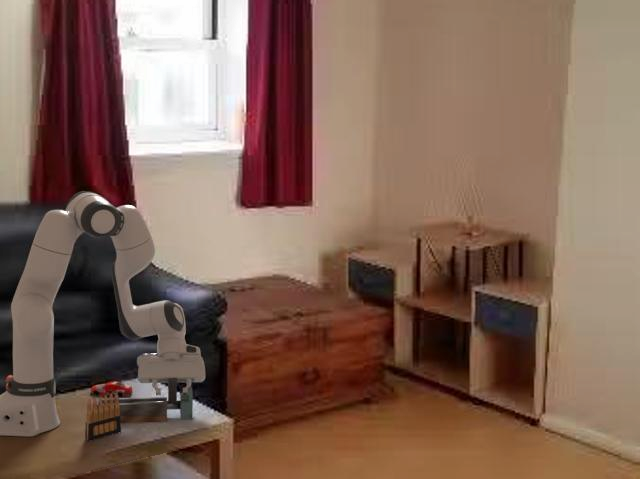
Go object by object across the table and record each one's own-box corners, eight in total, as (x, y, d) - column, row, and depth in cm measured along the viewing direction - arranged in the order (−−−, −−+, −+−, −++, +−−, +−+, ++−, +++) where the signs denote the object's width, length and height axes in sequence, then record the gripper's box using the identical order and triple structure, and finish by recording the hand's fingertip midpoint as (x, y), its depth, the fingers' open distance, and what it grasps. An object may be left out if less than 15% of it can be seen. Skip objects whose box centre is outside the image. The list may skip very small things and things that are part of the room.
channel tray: (90, 424, 286) (90, 408, 285) (92, 413, 295) (92, 397, 294) (167, 422, 290) (167, 406, 289) (166, 411, 298) (166, 395, 297)
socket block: (180, 419, 292) (180, 393, 291) (180, 412, 298) (180, 387, 297) (192, 418, 293) (192, 393, 291) (191, 411, 299) (191, 386, 297)
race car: (88, 396, 310) (88, 384, 310) (94, 390, 316) (94, 378, 315) (128, 399, 309) (128, 386, 308) (134, 393, 314) (134, 381, 313)
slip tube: (133, 412, 291) (133, 381, 289) (133, 408, 294) (133, 378, 292) (187, 410, 294) (187, 380, 292) (187, 407, 296) (187, 377, 295)
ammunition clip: (88, 441, 274) (88, 400, 271) (85, 439, 275) (84, 398, 273) (121, 432, 281) (121, 392, 279) (117, 430, 282) (117, 390, 280)
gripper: (137, 348, 296) (136, 390, 289) (205, 347, 300) (206, 389, 292) (137, 358, 301) (136, 399, 294) (204, 357, 305) (205, 398, 297)
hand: (171, 394), depth 293 cm, fingers open, 7 cm apart
